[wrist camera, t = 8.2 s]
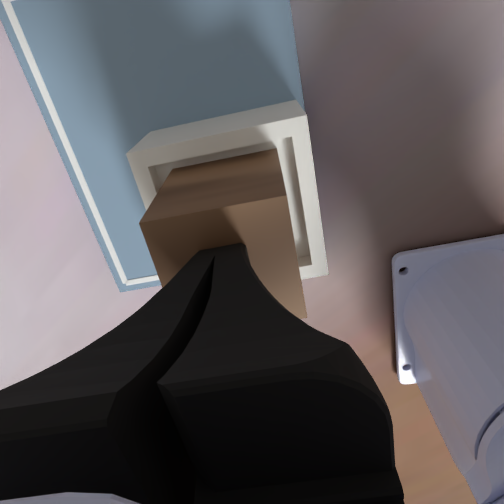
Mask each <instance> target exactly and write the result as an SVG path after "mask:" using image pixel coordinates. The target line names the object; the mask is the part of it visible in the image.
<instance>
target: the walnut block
mask: <svg viewBox="0 0 504 504" xmlns="http://www.w3.org/2000/svg"><path fill="white" fill-rule="evenodd" d="M139 225H140V228H141V231H142V233H143V236H144V239H145V242H146V244H147V247H148V250H149V252H150V255H151V258H152V261H153V263H154V266H155V269H156V272H157V274H158V277H159V280H160V282H161V285H162V288H163V287H164V286H165V285H166V284H167V283H168V282H169V281H170V280H171V279H172V278H173V277H174V276H175V275H176V274H177V273H178V272H179V271H180V270H181V269H182V267H183V266H184V265H185V264H186V263H187V262H188V261H189V260H190V259H191V258H192V257H193V256H194V255H195V254H196V253H197V252H198V251H199V250H205V249H210V248H215V247H221V246H226V245H231V244H237V243H243V244H244V245H246V247H247V252H248V256H249V260H250V264H251V266H252V268H253V270H254V271H255V273H256V275H257V276H258V278H259V279H260V281H261V282H262V283H263V285H264V286H265V287H266V289H267V290H268V291H269V292H270V293H271V294H272V295H273V297H274V298H275V299H276V300H277V301H278V302H279V303H280V304H282V305H283V306H284V307H285V308H286V309H287V310H288V311H289V312H291V313H292V314H294V315H295V316H296V317H298V318H299V319H302V318H307V312H306V306H305V300H304V294H303V288H302V282H301V276H300V271H299V265H298V259H297V253H296V247H295V241H294V235H293V229H292V223H291V217H290V211H289V205H288V199H287V194H286V189H285V184H284V179H283V175H282V170H281V165H280V161H279V156H278V151H277V148H274V149H269V150H264V151H259V152H254V153H249V154H244V155H239V156H234V157H229V158H224V159H219V160H214V161H209V162H204V163H199V164H194V165H189V166H184V167H179V168H174V169H172V170H171V172H170V173H169V175H168V177H167V178H166V180H165V182H164V183H163V185H162V186H161V188H160V190H159V191H158V193H157V194H156V196H155V198H154V199H153V201H152V202H151V204H150V206H149V207H148V209H147V211H146V212H145V214H144V215H143V217H142V219H141V220H140V222H139Z"/></svg>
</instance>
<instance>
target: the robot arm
mask: <svg viewBox="0 0 504 504" xmlns="http://www.w3.org/2000/svg"><path fill="white" fill-rule="evenodd" d="M402 267H406V269H405V270H404V271H402V272H399V269H400V268H402ZM392 280H393V300H394V321H395V341H396V362H397V377H398V380H399V382H400V383H402V384H412V383H417V385H418V387H419V389H420V391H421V393H422V395H423V397H424V399H425V402H426V404H427V406H428V408H429V410H430V412H431V414H432V416H433V418H434V420H435V423H436V425H437V427H438V429H439V431H440V433H441V435H442V437H443V439H444V442H445V444H446V446H447V448H448V450H449V452H450V454H451V456H452V458H453V461H454V462H455V464H456V466H457V467H458V469H459V471H460V472H461V473H462V475H463V476H464V477H465V479H466V481H467V483H468V485H469V487H470V489H471V491H472V493H473V495H474V497H475V499H476V502H477V504H504V234H500V235H494V236H489V237H483V238H477V239H472V240H466V241H460V242H454V243H449V244H443V245H437V246H432V247H426V248H420V249H415V250H409V251H403V252H399V253H397V254H395V255H394V256H393V258H392ZM406 364H408V365H406ZM404 365H406V366H404ZM403 499H404V493H403V489H402V485H401V482H400V479H399V476H398V473H397V470H396V467H395V456H394V439H393V424H392V420H391V415H390V412H389V409H388V406H387V404H386V402H385V400H384V398H383V396H382V394H381V392H380V390H379V388H378V386H377V385H376V383H375V381H374V380H373V378H372V376H371V375H370V373H369V372H368V370H367V369H366V367H365V366H364V364H363V363H362V361H361V360H360V359H359V357H358V356H357V355H356V353H355V352H354V350H353V349H352V348H351V347H350V345H348V344H347V343H345V342H343V341H341V340H338V339H336V338H334V337H331V336H329V335H327V334H324V333H322V332H320V331H318V330H316V329H314V328H312V327H311V326H309V325H307V324H306V323H305V322H303V321H302V320H300V319H299V318H298V317H296V316H295V315H294V314H292V313H291V312H289V311H288V310H287V309H286V308H285V307H284V306H283V305H282V304H280V303H279V302H278V301H277V300H276V299H275V298H274V297H273V295H272V294H271V293H270V292H269V291H268V290H267V289H266V287H265V286H264V285H263V283H262V282H261V281H260V279H259V278H258V276H257V275H256V273H255V271H254V270H253V268H252V266H251V264H250V260H249V256H248V252H247V247H246V245H244V244H243V243H237V244H231V245H226V246H221V247H215V248H210V249H205V250H199V251H198V252H197V253H196V254H195V255H194V256H193V257H192V258H191V259H190V260H189V261H188V262H187V263H186V264H185V265H184V266H183V267H182V269H181V270H180V271H179V272H178V273H177V274H176V275H175V276H174V277H173V278H172V279H171V280H170V281H169V282H168V283H167V284H166V285H165V286H164V287H163V288H162V289H161V290H160V291H159V292H158V293H157V294H155V295H154V296H153V297H152V298H151V299H150V300H149V301H148V302H147V303H146V304H145V305H144V306H142V307H141V308H140V309H139V310H138V311H136V312H135V313H134V314H133V315H131V316H130V317H129V318H128V319H126V320H125V321H124V322H122V323H121V324H120V325H118V326H117V327H115V328H114V329H113V330H111V331H110V332H108V333H107V334H105V335H103V336H102V337H100V338H99V339H97V340H96V341H94V342H93V343H91V344H90V345H88V346H86V347H85V348H83V349H82V350H80V351H78V352H77V353H75V354H73V355H71V356H69V357H68V358H66V359H64V360H62V361H61V362H59V363H57V364H55V365H53V366H51V367H49V368H47V369H45V370H43V371H41V372H39V373H37V374H35V375H33V376H31V377H29V378H27V379H25V380H22V381H20V382H18V383H16V384H13V385H11V386H9V387H7V388H5V389H2V390H0V504H404V501H403Z"/></svg>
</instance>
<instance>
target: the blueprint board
mask: <svg viewBox="0 0 504 504" xmlns="http://www.w3.org/2000/svg"><path fill="white" fill-rule="evenodd" d="M0 19H1V21H2V24H3V26H4V28H5V31H6V33H7V35H8V37H9V40H10V42H11V44H12V47H13V49H14V51H15V53H16V56H17V58H18V60H19V63H20V65H21V67H22V69H23V72H24V74H25V76H26V79H27V81H28V83H29V85H30V88H31V90H32V92H33V94H34V97H35V99H36V101H37V104H38V106H39V108H40V110H41V113H42V115H43V117H44V120H45V122H46V124H47V126H48V129H49V131H50V133H51V136H52V138H53V140H54V142H55V145H56V147H57V149H58V152H59V154H60V156H61V158H62V161H63V163H64V165H65V168H66V170H67V172H68V174H69V177H70V179H71V181H72V183H73V186H74V188H75V190H76V193H77V195H78V197H79V199H80V202H81V204H82V206H83V209H84V211H85V213H86V215H87V218H88V220H89V222H90V225H91V227H92V229H93V231H94V234H95V236H96V238H97V241H98V243H99V245H100V247H101V250H102V252H103V254H104V256H105V259H106V261H107V263H108V266H109V268H110V270H111V272H112V275H113V277H114V279H115V282H116V284H117V286H118V288H119V291H120V292H125V291H131V290H136V289H142V288H148V287H153V286H159V285H161V282H160V280H159V277H158V274H157V272H156V269H155V266H154V263H153V261H152V258H151V255H150V252H149V250H148V247H147V244H146V242H145V239H144V236H143V233H142V231H141V228H140V225H139V222H140V220H141V219H142V217H143V215H144V214H145V212H146V211H147V209H148V207H149V206H150V204H151V202H152V201H153V199H154V198H155V196H156V194H157V193H158V191H159V190H160V188H161V186H162V185H163V183H164V182H165V180H166V178H167V177H168V175H169V173H170V172H171V170H172V169H174V168H179V167H184V166H189V165H194V164H199V163H204V162H209V161H214V160H219V159H224V158H229V157H234V156H239V155H244V154H249V153H254V152H259V151H264V150H269V149H274V148H277V151H278V156H279V161H280V165H281V170H282V175H283V179H284V184H285V189H286V194H287V199H288V205H289V211H290V217H291V223H292V229H293V235H294V241H295V247H296V253H297V259H298V265H299V271H300V276H301V279H307V278H313V277H319V276H324V275H329V273H328V266H327V258H326V251H325V244H324V236H323V229H322V222H321V215H320V207H319V200H318V193H317V185H316V178H315V171H314V163H313V156H312V149H311V142H310V134H309V127H308V120H307V114H306V113H305V107H304V100H303V93H302V86H301V78H300V71H299V64H298V57H297V50H296V42H295V35H294V28H293V21H292V13H291V6H290V0H0Z"/></svg>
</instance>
